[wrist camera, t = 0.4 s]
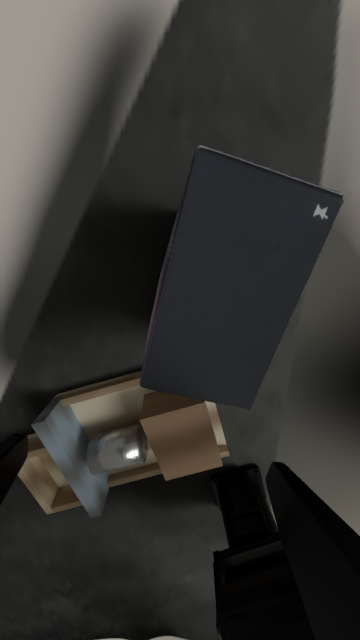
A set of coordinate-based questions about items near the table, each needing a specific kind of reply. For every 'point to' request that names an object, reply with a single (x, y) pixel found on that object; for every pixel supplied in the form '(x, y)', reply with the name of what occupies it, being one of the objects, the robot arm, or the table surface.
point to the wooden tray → (73, 438)
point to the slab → (179, 434)
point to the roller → (117, 449)
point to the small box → (232, 277)
